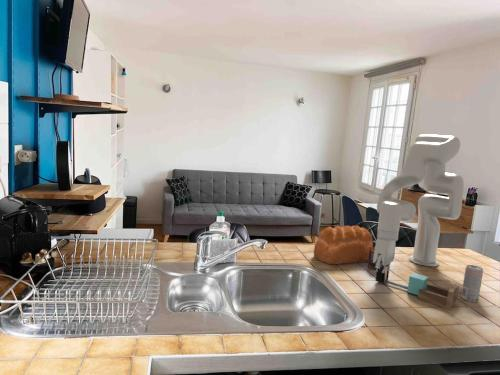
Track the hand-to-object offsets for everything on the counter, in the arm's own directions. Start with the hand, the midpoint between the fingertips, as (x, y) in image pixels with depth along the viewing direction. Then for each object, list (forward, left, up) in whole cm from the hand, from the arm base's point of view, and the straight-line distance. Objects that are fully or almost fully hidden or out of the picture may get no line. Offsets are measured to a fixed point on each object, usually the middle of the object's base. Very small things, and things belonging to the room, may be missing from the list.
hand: (381, 280), depth 144 cm
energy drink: (-11, +28, -1) cm, 30 cm away
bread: (-14, -23, -1) cm, 27 cm away
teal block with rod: (0, +7, 0) cm, 7 cm away
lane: (0, +19, -1) cm, 19 cm away
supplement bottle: (-15, -9, -1) cm, 17 cm away
